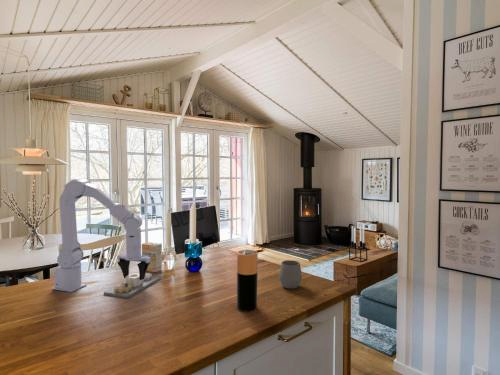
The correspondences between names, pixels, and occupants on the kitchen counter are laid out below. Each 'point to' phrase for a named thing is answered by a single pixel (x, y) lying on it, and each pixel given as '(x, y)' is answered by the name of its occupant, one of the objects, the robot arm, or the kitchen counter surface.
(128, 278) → the loose gear
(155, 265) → the supplement box
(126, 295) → the gear board
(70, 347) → the kitchen counter surface
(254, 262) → the battery
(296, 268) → the cup
